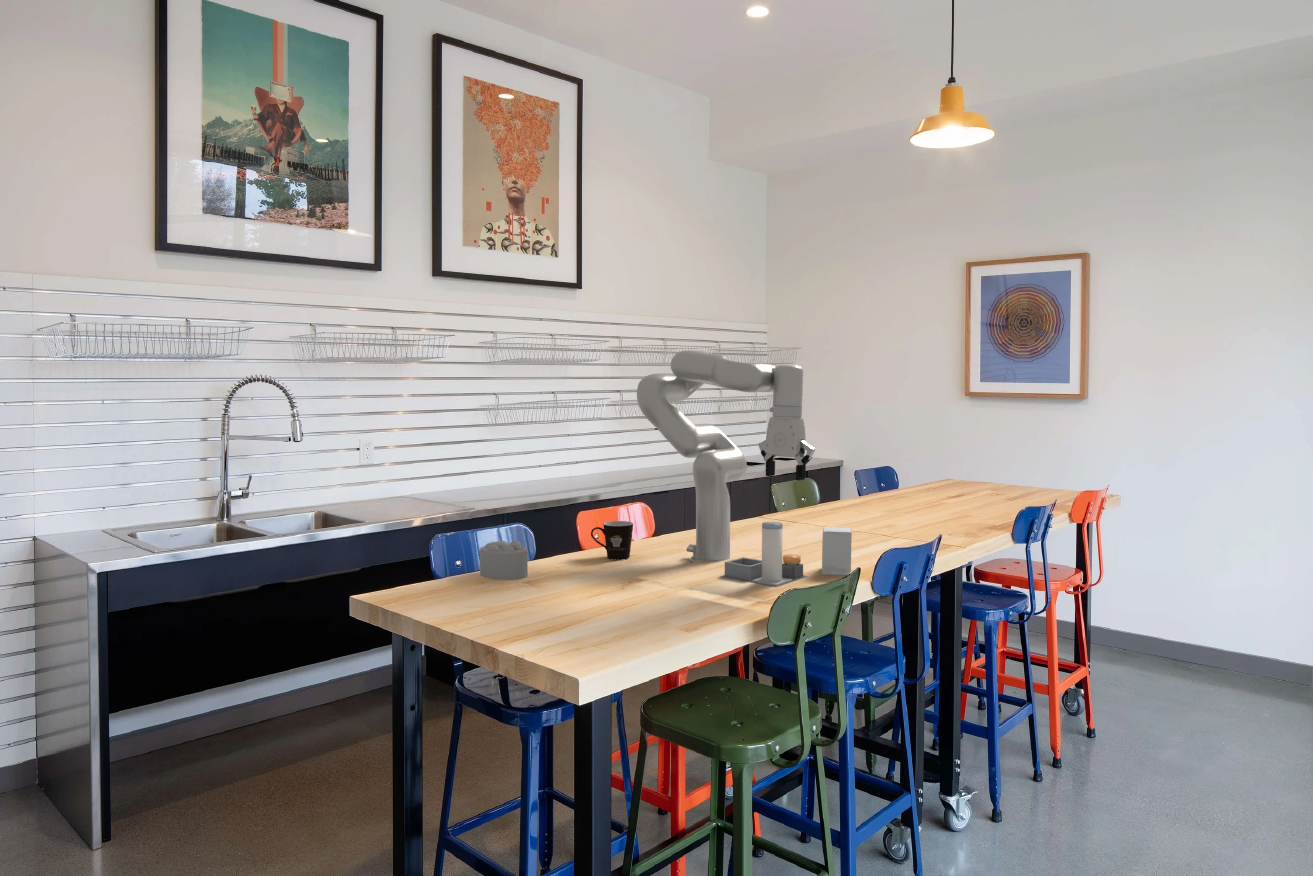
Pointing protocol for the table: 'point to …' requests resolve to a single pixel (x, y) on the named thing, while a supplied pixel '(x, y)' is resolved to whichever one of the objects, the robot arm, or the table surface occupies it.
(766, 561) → the cylinder
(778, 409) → the robot arm
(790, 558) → the glossy orange sphere
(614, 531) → the coffee mug
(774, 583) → the grey compartment tray
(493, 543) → the lumpy-topped squat cylinder
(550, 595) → the table surface
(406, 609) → the table surface
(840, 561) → the supplement box
